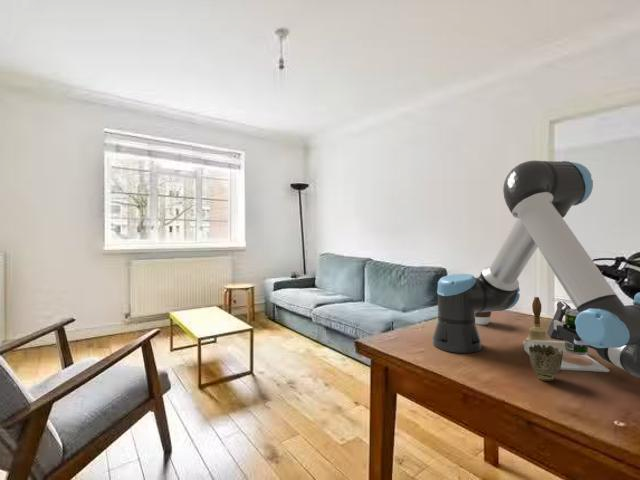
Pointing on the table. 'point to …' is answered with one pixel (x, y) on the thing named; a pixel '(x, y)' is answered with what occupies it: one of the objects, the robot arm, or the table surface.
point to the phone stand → (558, 317)
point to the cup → (545, 361)
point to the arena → (568, 357)
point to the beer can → (570, 321)
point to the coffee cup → (482, 318)
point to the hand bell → (536, 323)
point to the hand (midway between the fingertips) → (565, 324)
